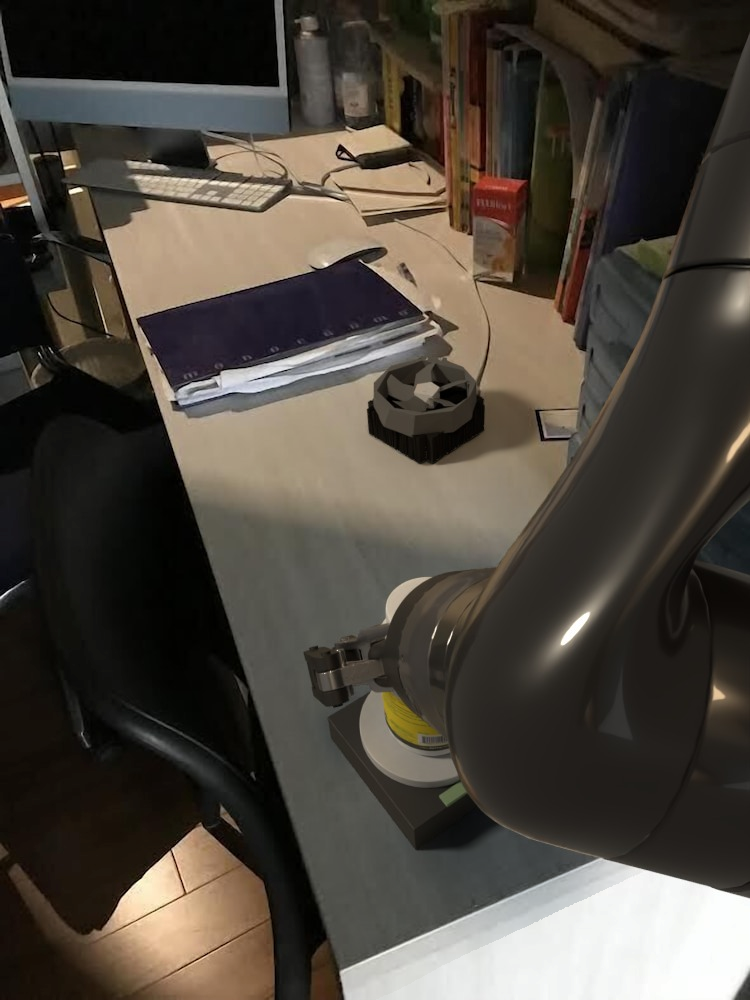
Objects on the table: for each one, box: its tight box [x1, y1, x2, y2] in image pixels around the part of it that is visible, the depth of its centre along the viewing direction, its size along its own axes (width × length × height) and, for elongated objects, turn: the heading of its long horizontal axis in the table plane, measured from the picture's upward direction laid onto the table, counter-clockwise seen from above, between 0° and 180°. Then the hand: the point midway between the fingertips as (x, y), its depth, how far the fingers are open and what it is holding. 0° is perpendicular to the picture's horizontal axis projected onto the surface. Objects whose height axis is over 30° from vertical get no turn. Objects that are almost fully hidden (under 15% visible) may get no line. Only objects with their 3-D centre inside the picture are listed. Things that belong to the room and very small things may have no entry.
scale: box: [326, 690, 478, 851], centre depth 56 cm, size 10×10×3 cm
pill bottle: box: [381, 576, 450, 756], centre depth 51 cm, size 6×6×11 cm
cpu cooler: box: [366, 355, 486, 465], centre depth 83 cm, size 10×6×10 cm
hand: (416, 636), depth 51 cm, fingers open, 8 cm apart
